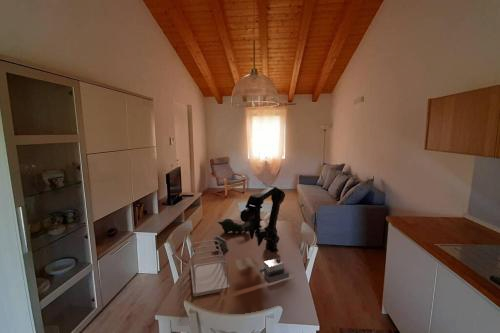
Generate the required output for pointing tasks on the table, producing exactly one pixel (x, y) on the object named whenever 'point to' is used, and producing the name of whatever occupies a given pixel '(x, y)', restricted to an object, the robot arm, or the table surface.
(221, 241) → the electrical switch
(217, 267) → the file sorter
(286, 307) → the table surface
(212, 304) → the table surface
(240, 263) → the stand
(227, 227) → the toy figurine
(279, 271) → the grey drawer
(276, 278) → the cabinet frame
